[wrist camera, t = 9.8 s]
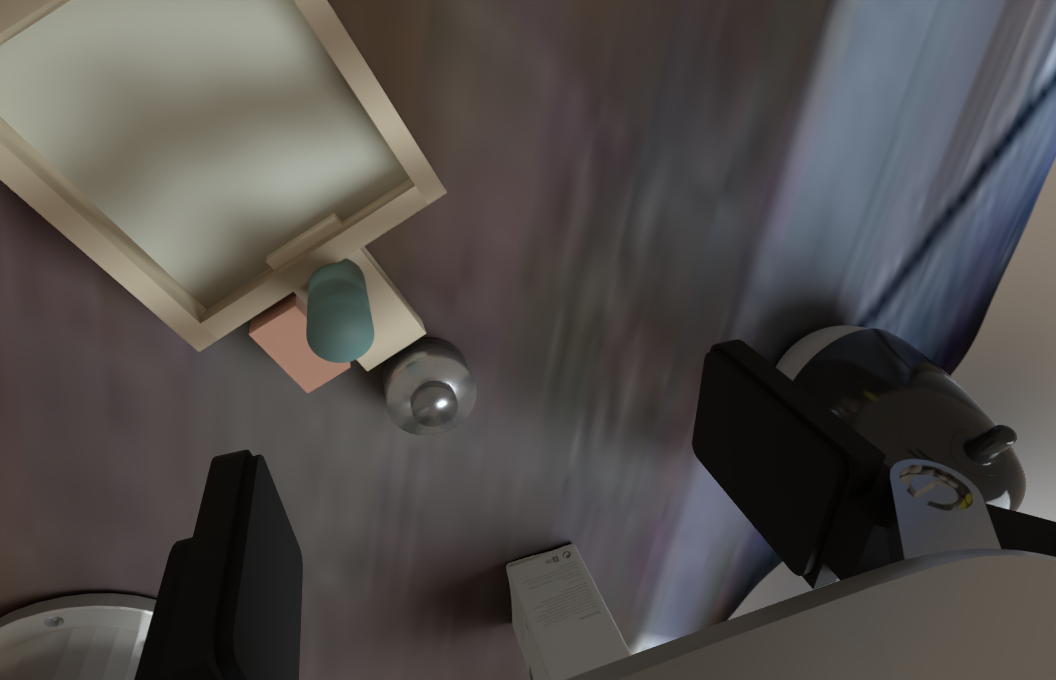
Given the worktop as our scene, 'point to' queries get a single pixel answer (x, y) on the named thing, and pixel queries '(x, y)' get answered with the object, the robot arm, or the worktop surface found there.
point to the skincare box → (561, 616)
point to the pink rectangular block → (292, 343)
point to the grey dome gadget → (906, 406)
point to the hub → (428, 387)
